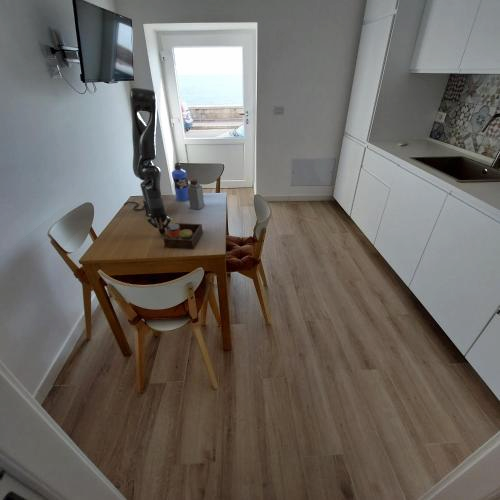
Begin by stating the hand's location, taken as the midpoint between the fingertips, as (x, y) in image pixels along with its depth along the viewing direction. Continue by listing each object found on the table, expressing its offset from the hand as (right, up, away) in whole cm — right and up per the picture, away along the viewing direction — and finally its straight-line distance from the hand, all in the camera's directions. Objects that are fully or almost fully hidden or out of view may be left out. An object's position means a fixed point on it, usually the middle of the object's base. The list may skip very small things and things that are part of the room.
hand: (162, 233), depth 149 cm
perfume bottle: (+13, +20, +31) cm, 39 cm away
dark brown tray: (+13, -3, -3) cm, 13 cm away
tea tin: (+15, -6, -7) cm, 17 cm away
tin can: (+6, -1, 0) cm, 6 cm away
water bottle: (+1, +27, +43) cm, 50 cm away
